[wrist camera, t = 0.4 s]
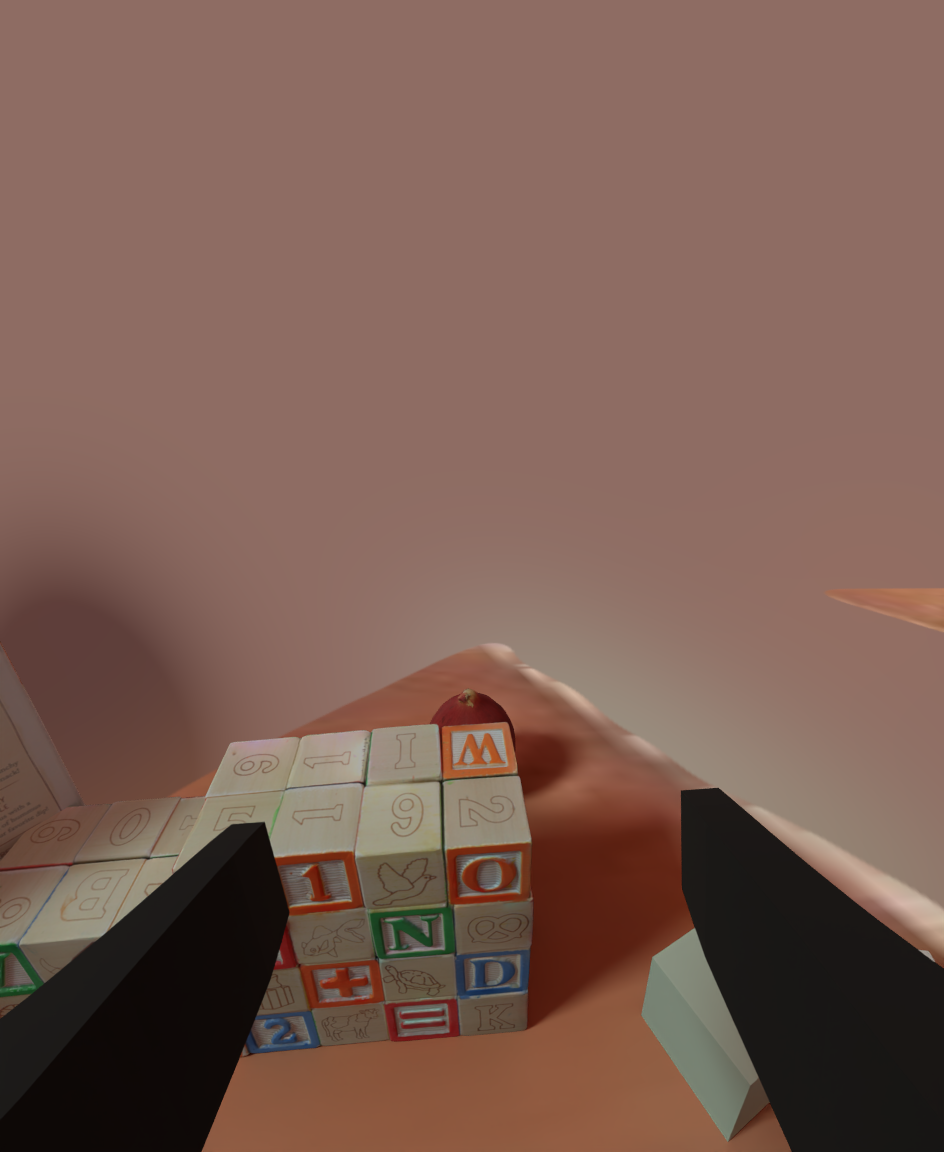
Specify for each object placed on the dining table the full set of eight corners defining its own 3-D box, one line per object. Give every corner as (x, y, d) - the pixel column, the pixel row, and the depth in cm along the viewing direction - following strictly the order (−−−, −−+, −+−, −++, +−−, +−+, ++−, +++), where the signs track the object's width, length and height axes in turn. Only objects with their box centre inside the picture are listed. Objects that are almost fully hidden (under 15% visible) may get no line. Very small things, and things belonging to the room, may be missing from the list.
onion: (436, 751, 38) (428, 661, 35) (514, 752, 38) (513, 661, 34) (426, 818, 33) (415, 719, 29) (516, 819, 32) (516, 720, 29)
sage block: (803, 1070, 21) (831, 1011, 19) (727, 1142, 19) (750, 1085, 17) (711, 963, 25) (727, 904, 23) (641, 1016, 23) (652, 957, 21)
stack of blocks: (28, 1084, 22) (-128, 897, 16) (112, 929, 27) (16, 753, 22) (531, 1031, 23) (536, 839, 17) (511, 892, 28) (510, 715, 23)
